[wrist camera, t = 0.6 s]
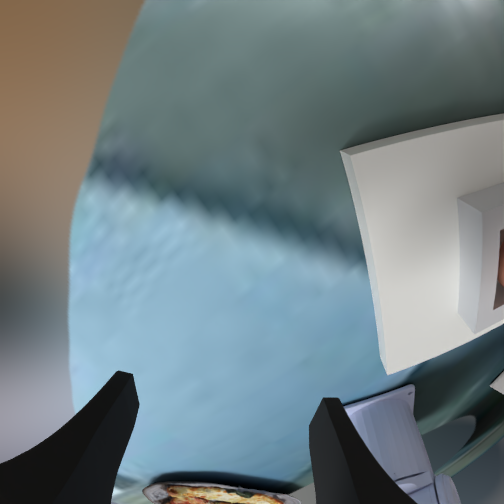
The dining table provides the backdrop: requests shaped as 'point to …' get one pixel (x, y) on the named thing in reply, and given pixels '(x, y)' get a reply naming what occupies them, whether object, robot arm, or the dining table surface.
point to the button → (501, 265)
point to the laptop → (499, 383)
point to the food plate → (211, 494)
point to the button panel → (431, 235)
